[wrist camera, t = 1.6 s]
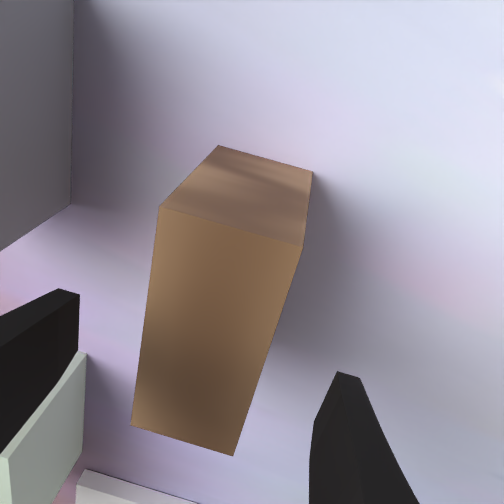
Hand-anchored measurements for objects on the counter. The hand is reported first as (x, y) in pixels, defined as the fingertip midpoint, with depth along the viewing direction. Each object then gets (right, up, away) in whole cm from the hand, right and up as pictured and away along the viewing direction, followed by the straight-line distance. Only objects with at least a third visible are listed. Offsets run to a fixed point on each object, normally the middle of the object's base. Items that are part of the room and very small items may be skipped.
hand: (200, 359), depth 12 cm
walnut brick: (+1, +3, +6) cm, 6 cm away
